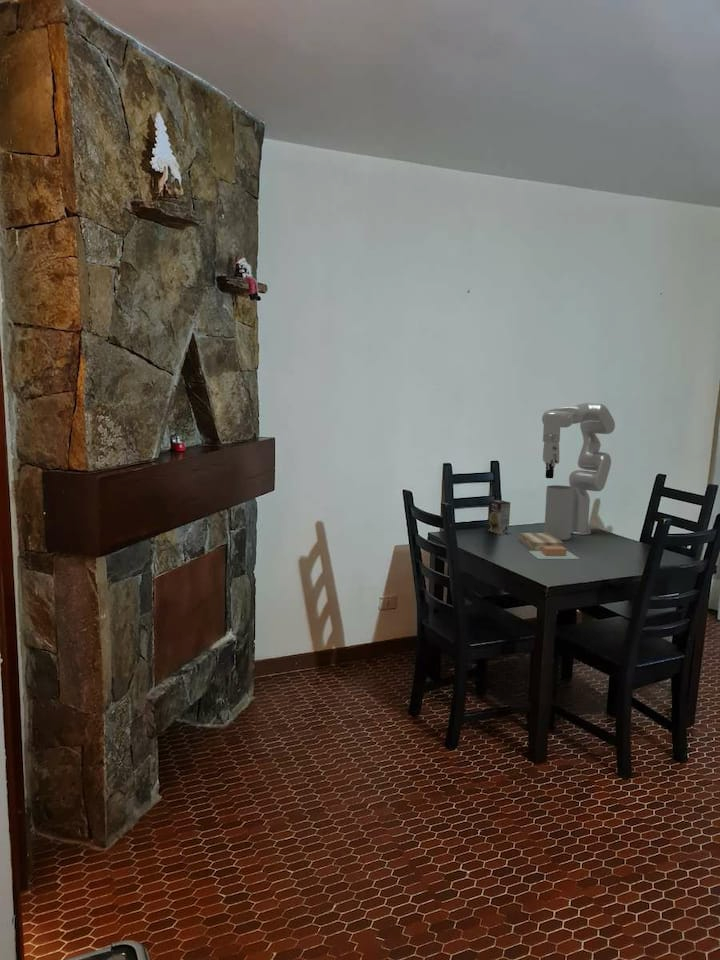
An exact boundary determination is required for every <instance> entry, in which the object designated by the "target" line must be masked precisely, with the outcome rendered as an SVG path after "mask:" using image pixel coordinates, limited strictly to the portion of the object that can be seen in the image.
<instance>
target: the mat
mask: <svg viewBox="0 0 720 960" xmlns="http://www.w3.org/2000/svg"><path fill="white" fill-rule="evenodd" d="M528 552H529V554H531V555H533V557H535V558H536V559H537V560H580V557H578V556H576V555H574V554H573V553H572V552H570V551H569V550H567V552H566V556H546V555H544V554H543V553H542V551H531V550H528Z"/></svg>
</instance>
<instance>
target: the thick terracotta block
mask: <svg viewBox="0 0 720 960" xmlns="http://www.w3.org/2000/svg"><path fill="white" fill-rule="evenodd" d="M567 551H568V550H567V548H566V547H564V545H563V546H542V553H543V554H544V555H546V556H566V552H567Z"/></svg>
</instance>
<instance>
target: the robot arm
mask: <svg viewBox="0 0 720 960" xmlns="http://www.w3.org/2000/svg"><path fill="white" fill-rule="evenodd" d="M541 421H542V424H543V429H542V430H543V431H542V432H543V433H542V443H543V449H542V450H543V451H542V461H543V462H544V464H545V478H546V479H554V475H555V474H554V471H555V467H556V465H559V463H560V442H561V441H560V440H561V439H560V438H561V428H564V429H565V428H569V427H571V426H572V425H577V424H580V425H579V427H580V430H581V434H582V438H583V439H582V440H583V444H582V446H581V450H580V453H579V456H578V460H577V466H578V468H580V469H581V470H580V469H578V470H573V471H572V472H571V473H570V474H569V477H568V482H569V487H573V488H574V489H573V506H572V523H571V533H572V534H571V535H576V536H577V535H579V536H580V535H581V536H583V535H584V536H586V535H590V534H592V530H598V529H599V528H598V527H599V526H598V525H595V524H590V523H589V522H590V521H589V518H590V517H589V516H590V503H591V498H590V495H589V493H588V491H592V492H601V491H603V490H604V488H605V486H606V483H607V480H608V476H609V473H610V469H611V466H612V459H611V456H610V454H609V453H607V452H603V451H600V449H601V445H602V444H601V441H600V439H599V438H598V436H597V435H598V434H600V435H602V434H603V435H609V434H612V433H614V431H615V428H616V427H615V426H616V424H615V423H616V421H615V420H614V417H613V416H612V414H611V412H610V411H609V409H608V408H607V406H606V405H605V404H603V403H590V402H588V403H587V402H586V403H585V402H584V403H581V404H576V405H573V406H567V407H565V406H564V407H559V408H558V407H557V408H553V409H548V410H546V411H544V412H543V414H542V416H541Z"/></svg>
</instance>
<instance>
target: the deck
mask: <svg viewBox="0 0 720 960" xmlns="http://www.w3.org/2000/svg"><path fill="white" fill-rule="evenodd" d="M519 542H520V543H521V544H522V545H523V546H525V547H526V548H527V549H529V551H542V546H563V547H564V542H563V540H559V539H557V538H556V537H554V536H553V535H551V534H549V533H544V532H519Z"/></svg>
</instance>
